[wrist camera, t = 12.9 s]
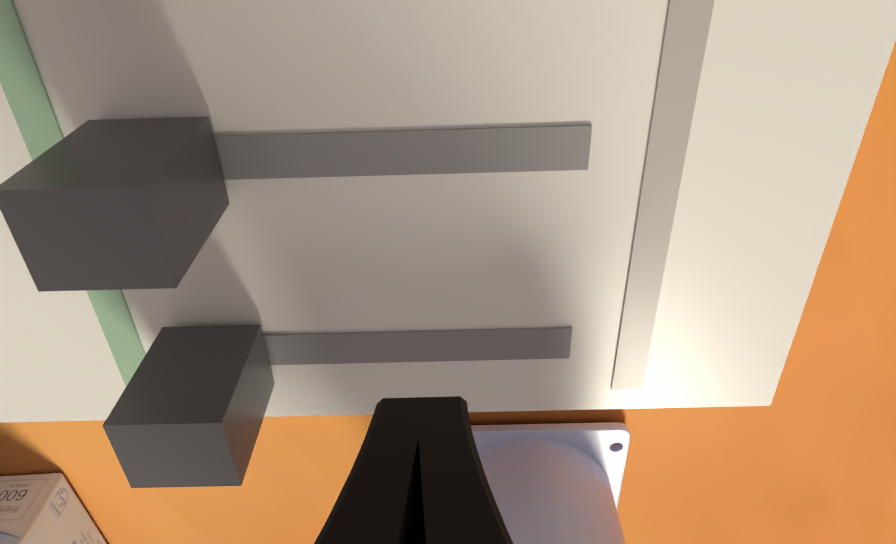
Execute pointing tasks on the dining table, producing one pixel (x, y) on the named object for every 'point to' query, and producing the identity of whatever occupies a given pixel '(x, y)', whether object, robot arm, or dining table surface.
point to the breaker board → (457, 192)
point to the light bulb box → (43, 512)
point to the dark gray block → (117, 204)
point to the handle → (193, 407)
